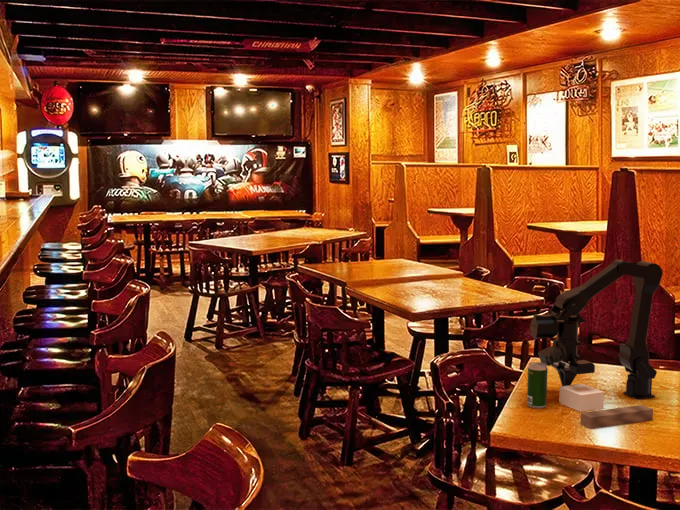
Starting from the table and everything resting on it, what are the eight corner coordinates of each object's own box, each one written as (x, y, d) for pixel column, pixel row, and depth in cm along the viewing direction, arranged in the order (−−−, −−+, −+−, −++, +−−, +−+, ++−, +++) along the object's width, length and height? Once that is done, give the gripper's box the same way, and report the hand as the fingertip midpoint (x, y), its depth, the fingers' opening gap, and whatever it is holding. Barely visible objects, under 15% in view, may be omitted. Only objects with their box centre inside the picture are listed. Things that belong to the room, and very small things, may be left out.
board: (642, 415, 208) (642, 404, 208) (652, 420, 204) (653, 409, 204) (580, 424, 202) (580, 412, 201) (590, 428, 198) (590, 417, 197)
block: (581, 400, 223) (582, 383, 222) (603, 409, 214) (603, 391, 214) (559, 403, 220) (559, 386, 219) (580, 412, 211) (580, 395, 211)
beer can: (537, 410, 213) (538, 367, 212) (522, 405, 217) (523, 363, 216) (550, 406, 216) (551, 365, 215) (535, 401, 220) (537, 361, 219)
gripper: (525, 332, 228) (523, 384, 230) (563, 346, 210) (561, 402, 212) (557, 330, 231) (555, 380, 233) (597, 343, 214) (595, 398, 216)
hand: (565, 389), depth 224 cm, fingers closed
